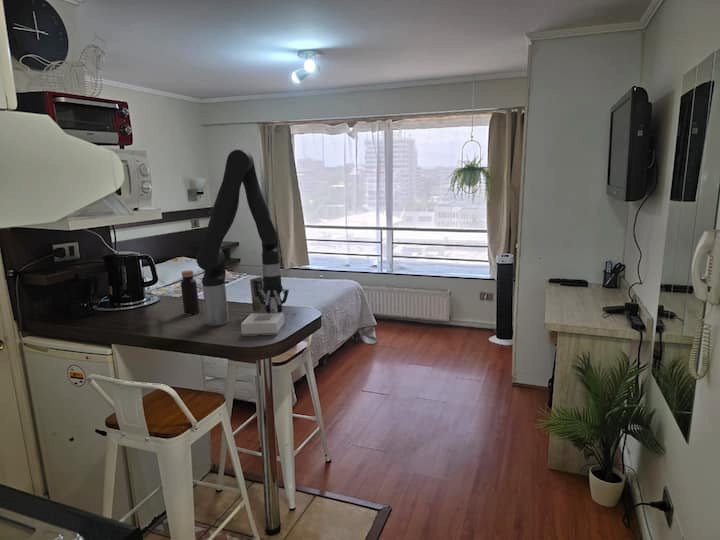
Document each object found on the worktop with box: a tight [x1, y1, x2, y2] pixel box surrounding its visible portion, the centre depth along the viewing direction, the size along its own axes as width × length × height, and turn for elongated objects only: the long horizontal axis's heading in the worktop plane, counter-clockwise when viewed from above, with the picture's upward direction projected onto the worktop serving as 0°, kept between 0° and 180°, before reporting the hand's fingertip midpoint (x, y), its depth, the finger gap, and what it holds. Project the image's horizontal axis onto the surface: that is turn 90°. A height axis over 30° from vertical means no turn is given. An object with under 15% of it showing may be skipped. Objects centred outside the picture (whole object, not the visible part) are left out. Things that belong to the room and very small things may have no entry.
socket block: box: [240, 312, 285, 337], centre depth 187 cm, size 14×14×5 cm
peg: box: [269, 297, 278, 313], centre depth 199 cm, size 4×4×10 cm
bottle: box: [180, 270, 200, 315], centre depth 215 cm, size 7×7×20 cm
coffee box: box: [249, 276, 268, 313], centre depth 210 cm, size 9×6×16 cm
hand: (274, 312), depth 199 cm, fingers closed on peg, 4 cm apart
